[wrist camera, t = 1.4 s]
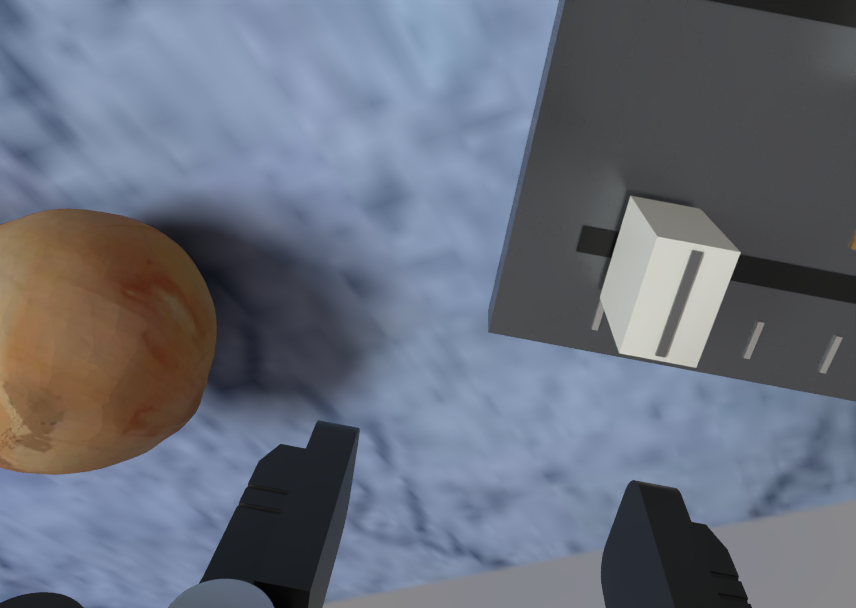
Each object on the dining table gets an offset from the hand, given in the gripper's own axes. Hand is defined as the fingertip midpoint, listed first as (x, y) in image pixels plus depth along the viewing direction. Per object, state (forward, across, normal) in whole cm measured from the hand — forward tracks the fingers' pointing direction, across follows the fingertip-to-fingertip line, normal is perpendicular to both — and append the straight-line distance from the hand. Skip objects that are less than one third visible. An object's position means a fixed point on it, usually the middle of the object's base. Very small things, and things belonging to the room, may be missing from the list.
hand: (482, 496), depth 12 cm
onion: (+18, +14, +6) cm, 23 cm away
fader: (+15, -6, 0) cm, 16 cm away
